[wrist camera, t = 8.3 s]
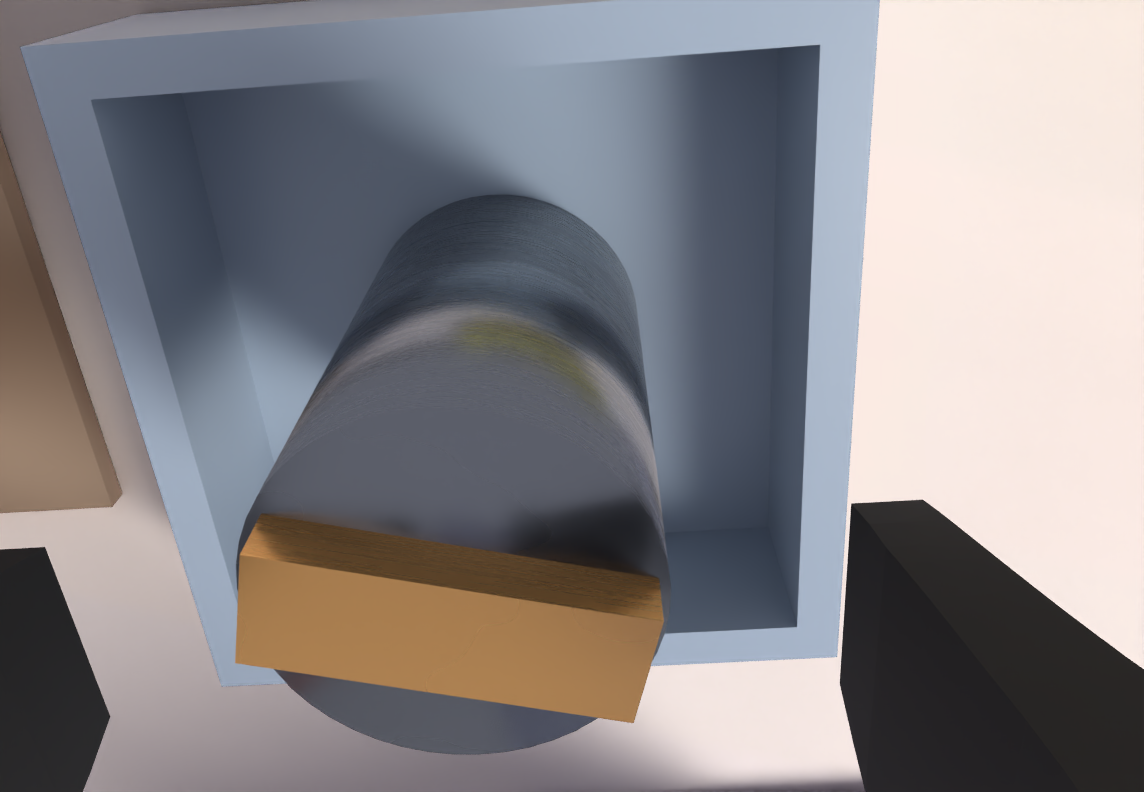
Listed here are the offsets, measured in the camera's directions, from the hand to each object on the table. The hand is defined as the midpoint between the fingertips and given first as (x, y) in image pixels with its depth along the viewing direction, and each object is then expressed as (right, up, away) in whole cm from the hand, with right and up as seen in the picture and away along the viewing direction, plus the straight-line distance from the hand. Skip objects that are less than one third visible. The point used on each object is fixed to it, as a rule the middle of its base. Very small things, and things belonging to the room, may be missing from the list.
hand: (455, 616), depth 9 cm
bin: (0, +3, +6) cm, 7 cm away
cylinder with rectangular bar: (0, +3, +6) cm, 7 cm away
